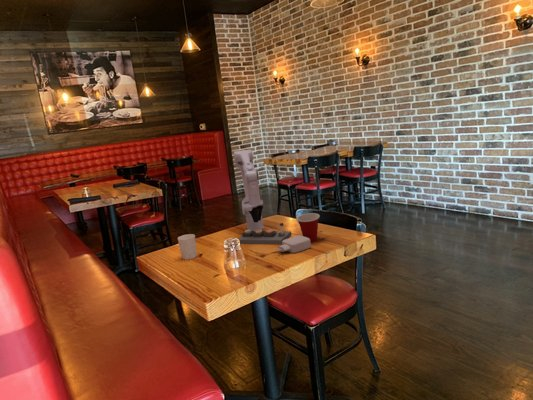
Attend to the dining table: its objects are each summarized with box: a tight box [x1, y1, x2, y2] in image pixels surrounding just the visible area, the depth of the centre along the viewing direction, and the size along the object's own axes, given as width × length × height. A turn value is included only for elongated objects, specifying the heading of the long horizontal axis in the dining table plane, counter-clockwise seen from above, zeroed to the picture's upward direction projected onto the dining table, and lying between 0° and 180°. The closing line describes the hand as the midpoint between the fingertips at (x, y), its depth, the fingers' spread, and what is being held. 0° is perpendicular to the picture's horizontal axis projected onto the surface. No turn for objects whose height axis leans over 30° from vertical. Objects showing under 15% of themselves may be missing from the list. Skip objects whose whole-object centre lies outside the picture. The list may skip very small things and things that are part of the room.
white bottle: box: [275, 234, 312, 254], centre depth 178 cm, size 5×9×15 cm
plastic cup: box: [296, 212, 320, 243], centre depth 187 cm, size 11×11×12 cm
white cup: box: [177, 233, 198, 261], centre depth 186 cm, size 8×8×10 cm
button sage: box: [244, 228, 251, 234], centre depth 202 cm, size 3×3×2 cm
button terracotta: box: [265, 228, 274, 234], centre depth 197 cm, size 3×3×2 cm
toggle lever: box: [279, 222, 284, 233], centre depth 196 cm, size 2×2×5 cm
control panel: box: [237, 230, 292, 245], centre depth 199 cm, size 14×24×4 cm, turn 67°
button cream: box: [255, 229, 263, 234], centre depth 200 cm, size 3×3×2 cm
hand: (257, 221), depth 199 cm, fingers open, 2 cm apart
